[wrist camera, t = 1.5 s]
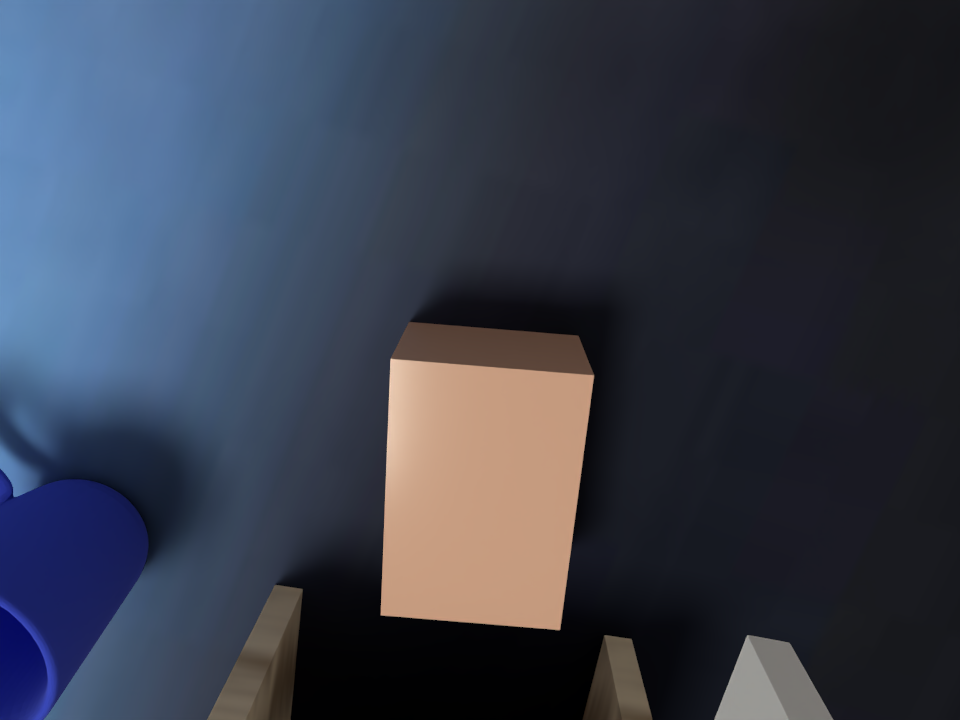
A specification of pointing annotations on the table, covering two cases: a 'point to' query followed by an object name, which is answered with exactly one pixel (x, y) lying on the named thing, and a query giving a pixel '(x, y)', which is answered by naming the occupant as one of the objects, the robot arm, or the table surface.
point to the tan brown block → (483, 474)
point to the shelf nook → (272, 660)
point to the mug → (60, 584)
